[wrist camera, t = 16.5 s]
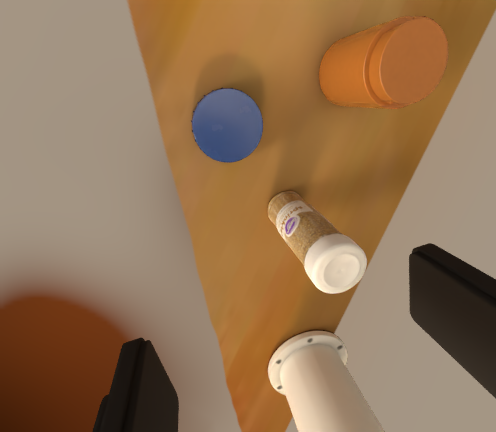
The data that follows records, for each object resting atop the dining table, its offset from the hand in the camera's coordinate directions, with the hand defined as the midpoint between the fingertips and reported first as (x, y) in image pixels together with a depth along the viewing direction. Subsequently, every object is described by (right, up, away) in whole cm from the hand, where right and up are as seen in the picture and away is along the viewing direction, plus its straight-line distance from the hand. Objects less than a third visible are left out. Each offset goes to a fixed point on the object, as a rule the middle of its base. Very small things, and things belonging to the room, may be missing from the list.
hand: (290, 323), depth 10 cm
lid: (-3, +12, +18) cm, 22 cm away
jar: (+9, +18, +20) cm, 28 cm away
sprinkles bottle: (+3, +5, +24) cm, 25 cm away
